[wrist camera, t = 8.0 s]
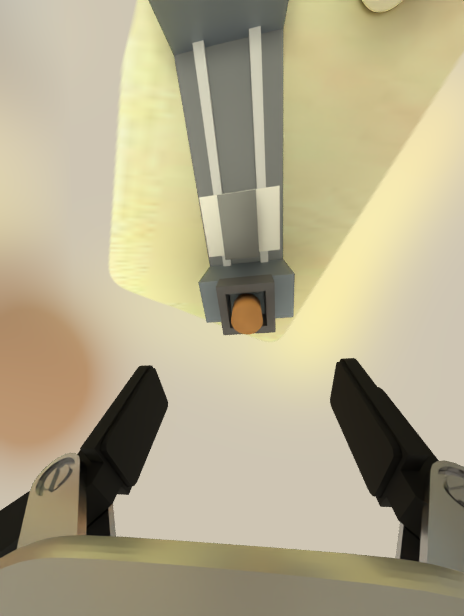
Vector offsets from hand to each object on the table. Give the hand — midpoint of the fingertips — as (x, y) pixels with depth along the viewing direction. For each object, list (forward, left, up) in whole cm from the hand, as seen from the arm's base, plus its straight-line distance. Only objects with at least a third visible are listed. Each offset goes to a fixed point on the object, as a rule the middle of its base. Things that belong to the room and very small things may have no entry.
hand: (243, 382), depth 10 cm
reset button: (0, +1, -10) cm, 10 cm away
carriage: (0, -7, -18) cm, 19 cm away
